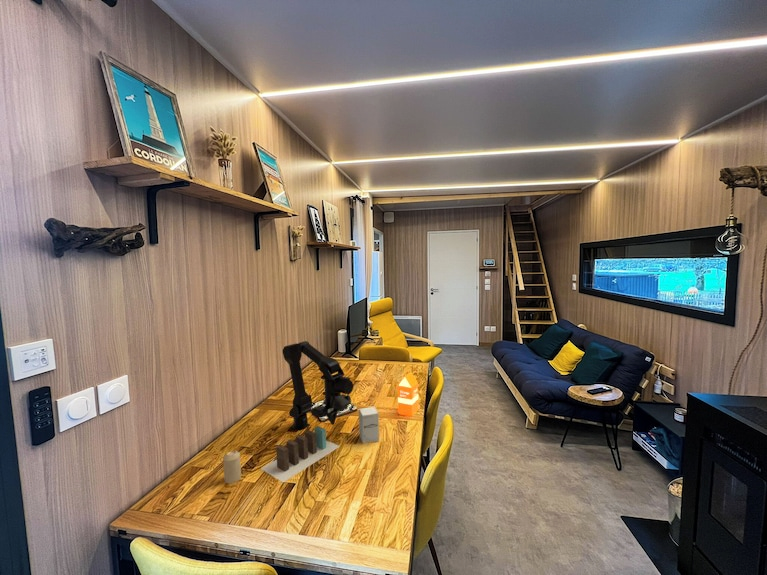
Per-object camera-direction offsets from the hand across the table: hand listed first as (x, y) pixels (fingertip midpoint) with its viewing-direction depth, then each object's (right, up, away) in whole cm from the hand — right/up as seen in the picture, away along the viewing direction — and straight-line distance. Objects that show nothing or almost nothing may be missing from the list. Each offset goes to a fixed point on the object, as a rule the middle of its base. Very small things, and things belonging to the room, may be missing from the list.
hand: (332, 424), depth 142 cm
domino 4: (-7, -7, -10) cm, 14 cm away
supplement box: (+16, -6, 0) cm, 17 cm away
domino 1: (-15, -8, -20) cm, 27 cm away
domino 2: (-13, -8, -17) cm, 22 cm away
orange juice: (+35, -4, +25) cm, 44 cm away
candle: (-32, -9, -25) cm, 42 cm away
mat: (-10, -8, -13) cm, 18 cm away
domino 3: (-10, -7, -13) cm, 18 cm away
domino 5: (-4, -7, -6) cm, 10 cm away
